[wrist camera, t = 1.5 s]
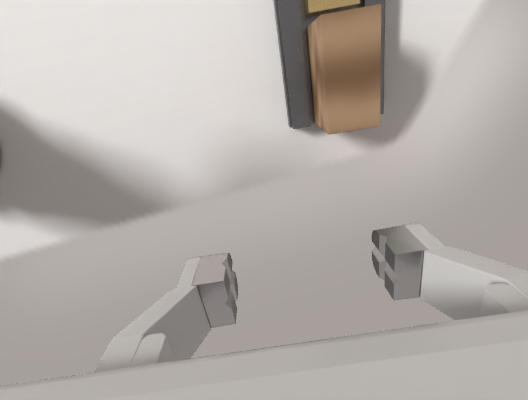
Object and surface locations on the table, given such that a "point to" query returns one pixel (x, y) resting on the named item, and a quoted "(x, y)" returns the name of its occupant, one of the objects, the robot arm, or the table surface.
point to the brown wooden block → (346, 69)
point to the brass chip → (327, 6)
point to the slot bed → (306, 57)
